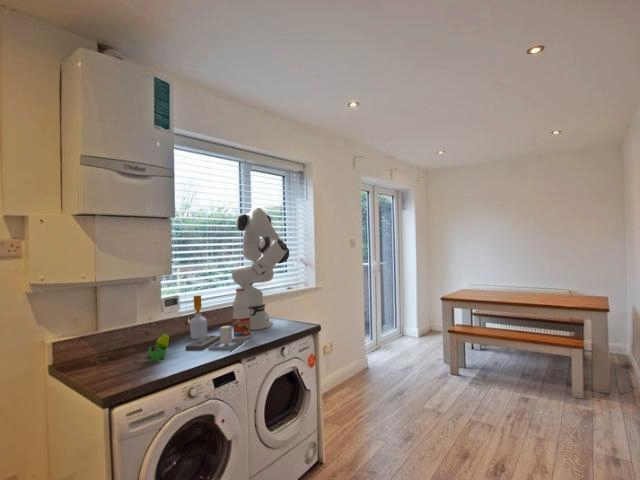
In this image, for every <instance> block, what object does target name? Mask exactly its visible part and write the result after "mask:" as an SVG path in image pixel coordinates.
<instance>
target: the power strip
mask: <svg viewBox="0 0 640 480" xmlns="http://www.w3.org/2000/svg"><path fill="white" fill-rule="evenodd" d="M218 341H220V335H215V334H211V335H207V336H204V337H202V338H199V339H197V340H195V341H193V342H191V343H188V344H187V345H185V351H203V350H205V349H207V348H208V347H209V346H211V345H213V344H215V343H216V342H218Z"/></svg>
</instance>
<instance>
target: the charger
mask: <svg viewBox="0 0 640 480" xmlns="http://www.w3.org/2000/svg"><path fill="white" fill-rule="evenodd" d="M232 330H233V327H232V325H223V326H221V327H219V336H220V340H219V341H220V345H224V347H230V346H229V344H230V343H233V342H232V339H233V331H232Z"/></svg>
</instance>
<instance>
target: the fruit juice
mask: <svg viewBox="0 0 640 480" xmlns="http://www.w3.org/2000/svg"><path fill="white" fill-rule="evenodd" d="M244 291H245V288H241V287H240V288H239V287H237V288H236V289H235V292H236V294H235V298H234V300H233V302H232V308H233V313H232V324H233V327H232V329H233V339H243V340H248V341H249V340H250V339H251V337H252V330H251V322H250V311H249V301H248V300H247V298H246V295H245V293H244Z"/></svg>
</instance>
